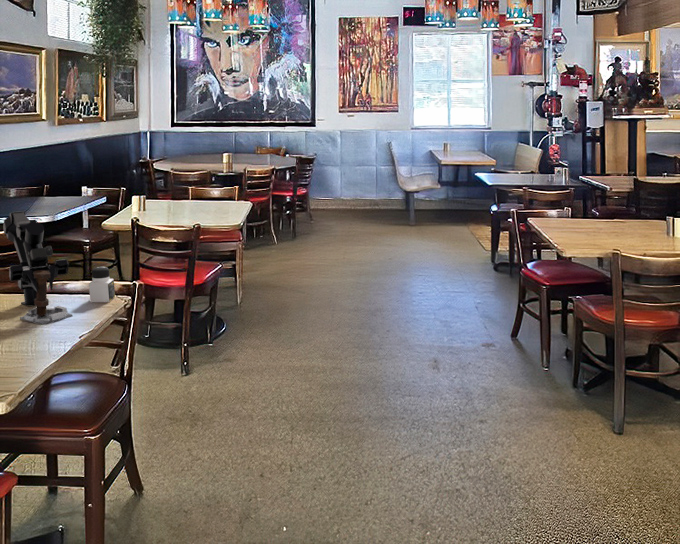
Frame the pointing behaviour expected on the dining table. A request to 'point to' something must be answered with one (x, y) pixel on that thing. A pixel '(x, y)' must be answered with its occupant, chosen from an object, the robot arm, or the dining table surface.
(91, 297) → the medicine bottle
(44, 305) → the bolt
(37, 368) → the dining table surface
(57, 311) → the ring collar
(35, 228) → the robot arm
